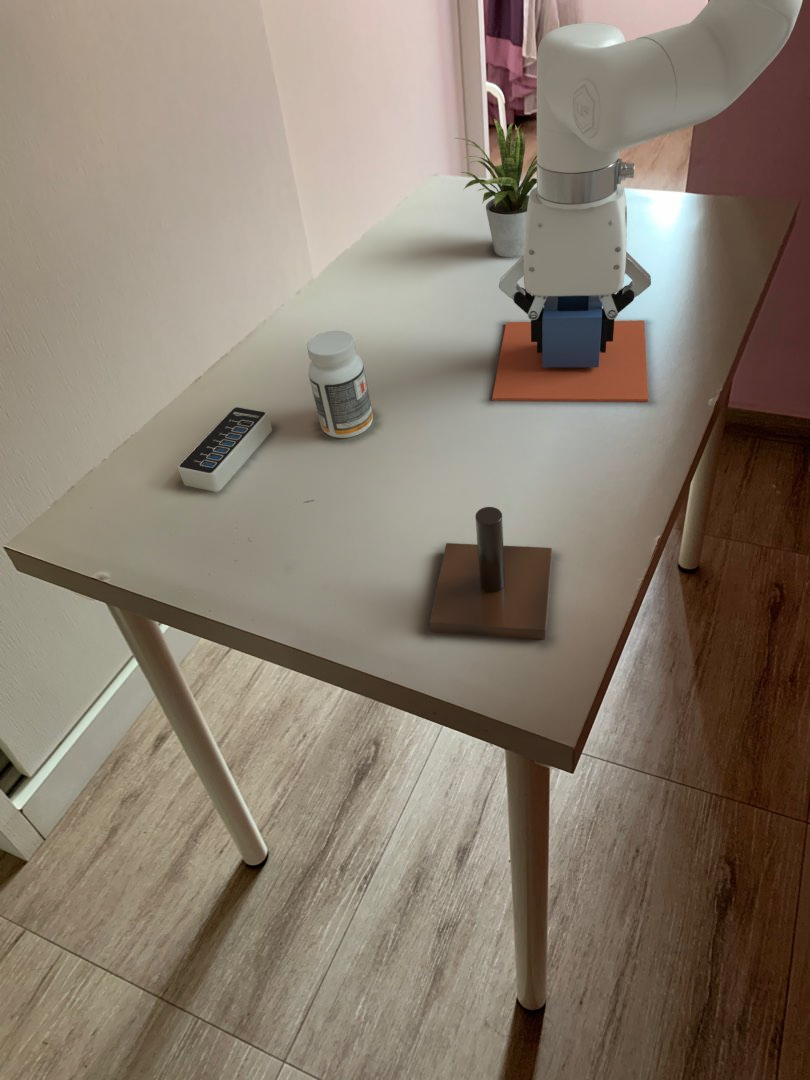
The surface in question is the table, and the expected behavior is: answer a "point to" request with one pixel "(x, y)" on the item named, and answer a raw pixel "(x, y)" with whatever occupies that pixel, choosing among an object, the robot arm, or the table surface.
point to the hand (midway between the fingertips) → (571, 345)
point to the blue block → (571, 331)
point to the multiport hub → (225, 449)
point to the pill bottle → (339, 384)
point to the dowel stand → (492, 585)
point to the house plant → (507, 193)
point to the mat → (573, 369)
